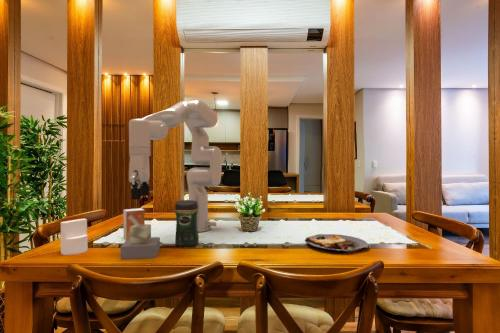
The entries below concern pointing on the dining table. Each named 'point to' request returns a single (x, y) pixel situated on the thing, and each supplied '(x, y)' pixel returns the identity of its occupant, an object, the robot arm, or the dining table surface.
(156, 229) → the dining table surface
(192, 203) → the coffee jar
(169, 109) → the robot arm
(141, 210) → the small box
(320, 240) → the food plate
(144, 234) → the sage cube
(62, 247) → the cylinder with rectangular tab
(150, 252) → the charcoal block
